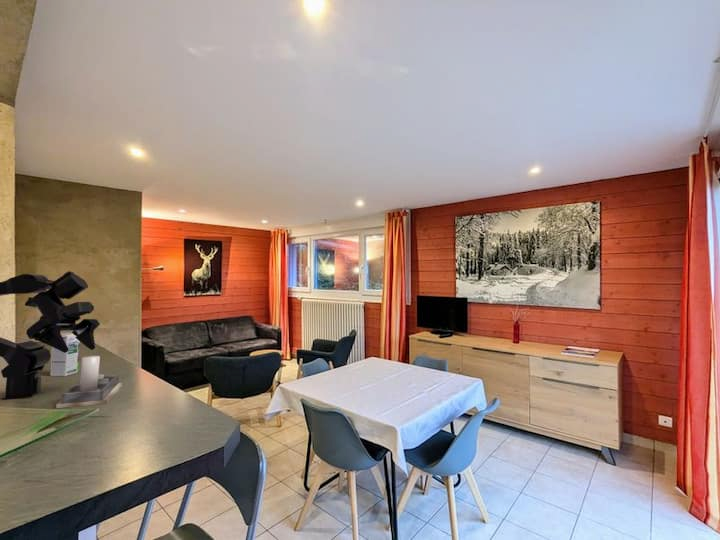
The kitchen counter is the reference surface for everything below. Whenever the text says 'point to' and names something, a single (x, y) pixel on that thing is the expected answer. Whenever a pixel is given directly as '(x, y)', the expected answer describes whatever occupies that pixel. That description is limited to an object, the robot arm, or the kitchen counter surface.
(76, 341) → the syrup box
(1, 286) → the robot arm
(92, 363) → the white bulb
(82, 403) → the grey compartment tray
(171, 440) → the kitchen counter surface
